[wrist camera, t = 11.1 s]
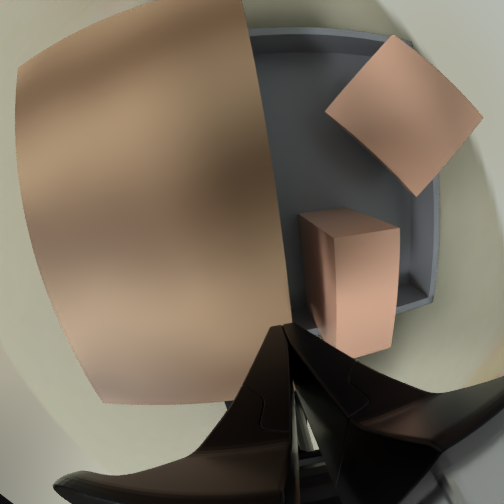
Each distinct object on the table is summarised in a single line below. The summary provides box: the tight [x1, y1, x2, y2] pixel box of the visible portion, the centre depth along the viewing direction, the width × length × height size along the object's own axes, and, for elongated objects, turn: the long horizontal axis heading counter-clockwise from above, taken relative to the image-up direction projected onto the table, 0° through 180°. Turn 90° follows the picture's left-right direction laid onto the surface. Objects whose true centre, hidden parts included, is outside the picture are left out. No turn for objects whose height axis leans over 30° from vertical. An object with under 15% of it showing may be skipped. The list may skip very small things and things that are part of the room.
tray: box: [248, 27, 440, 335], centre depth 14 cm, size 17×10×3 cm, turn 9°
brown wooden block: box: [15, 0, 296, 405], centre depth 12 cm, size 17×10×7 cm, turn 9°
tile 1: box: [298, 207, 400, 358], centre depth 14 cm, size 6×6×3 cm
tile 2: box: [325, 34, 483, 197], centre depth 11 cm, size 6×6×3 cm
